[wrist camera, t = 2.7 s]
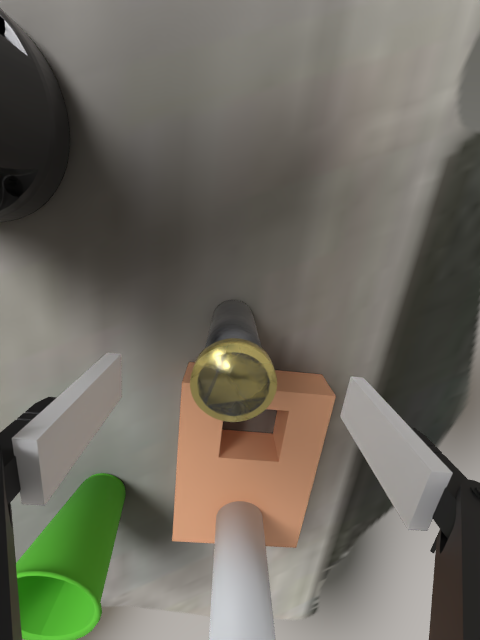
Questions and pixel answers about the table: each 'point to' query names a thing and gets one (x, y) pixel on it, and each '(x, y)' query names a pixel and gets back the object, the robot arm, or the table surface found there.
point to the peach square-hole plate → (248, 495)
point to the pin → (233, 367)
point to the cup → (70, 563)
